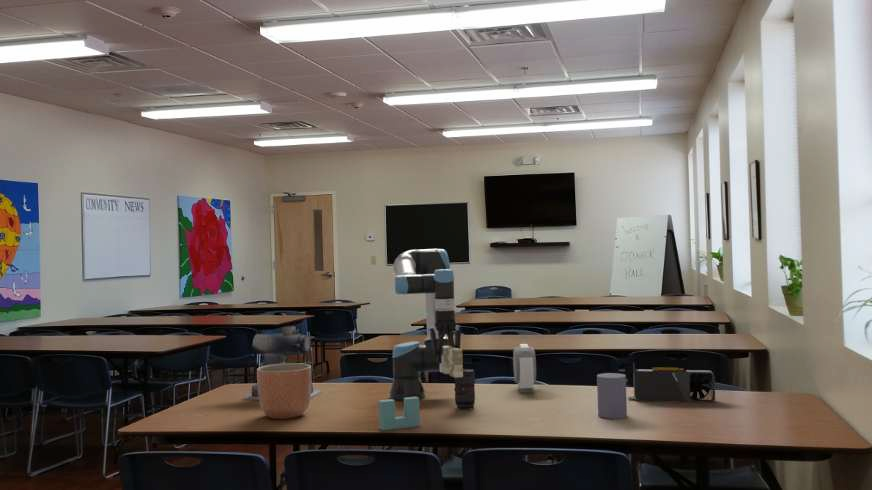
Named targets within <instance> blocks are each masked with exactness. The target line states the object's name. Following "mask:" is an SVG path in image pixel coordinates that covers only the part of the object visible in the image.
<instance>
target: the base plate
mask: <svg viewBox="0 0 872 490" xmlns="http://www.w3.org/2000/svg"><path fill="white" fill-rule="evenodd" d="M395 402H396V400H393V399H390V398H389V399H381V400H378V407H379V408H378V409H379V411H378V412H379V413H378V414H379V429H380V430H381V431H388V430H397V429H398V430H399V429H407V428H414V427H420V426H421V419H420V418H421V416H420V412H421V411H420V399H419V398H418V397H407V398H404V400H403V415H402V416H401V415H399V416H396V404H395Z"/></svg>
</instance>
